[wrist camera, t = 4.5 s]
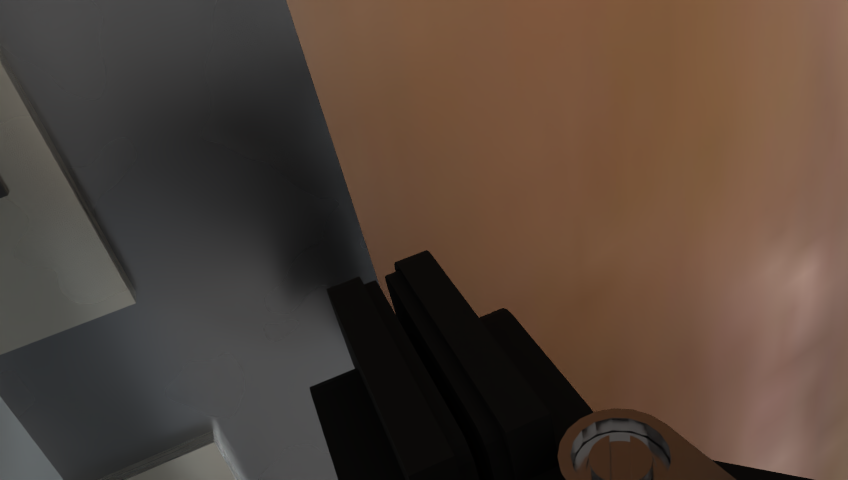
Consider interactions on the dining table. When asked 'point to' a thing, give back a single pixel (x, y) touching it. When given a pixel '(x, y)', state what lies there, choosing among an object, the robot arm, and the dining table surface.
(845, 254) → the dining table surface
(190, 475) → the chassis
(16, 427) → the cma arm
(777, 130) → the dining table surface
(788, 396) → the dining table surface
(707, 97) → the dining table surface
